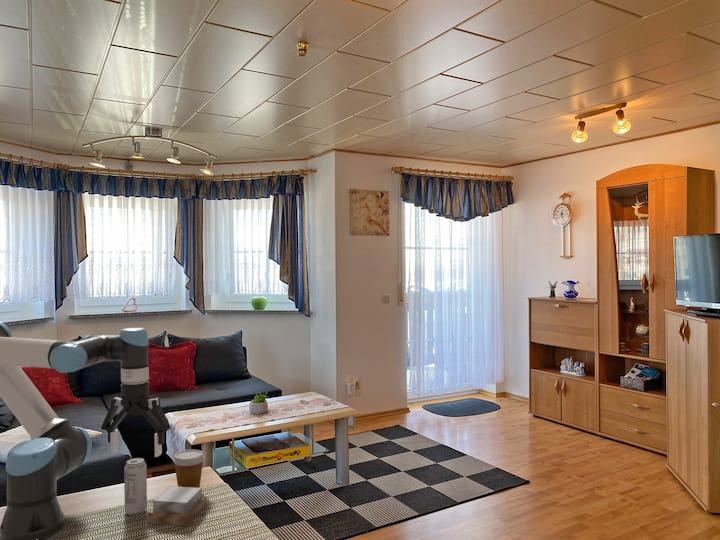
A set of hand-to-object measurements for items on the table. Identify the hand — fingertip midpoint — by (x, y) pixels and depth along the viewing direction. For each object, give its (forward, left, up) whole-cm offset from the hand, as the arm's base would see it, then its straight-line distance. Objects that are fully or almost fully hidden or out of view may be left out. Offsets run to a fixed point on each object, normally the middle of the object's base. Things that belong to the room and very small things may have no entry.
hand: (136, 454), depth 162 cm
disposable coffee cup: (+9, +15, -17) cm, 25 cm away
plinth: (+13, 0, -17) cm, 21 cm away
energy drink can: (0, 0, -17) cm, 17 cm away
